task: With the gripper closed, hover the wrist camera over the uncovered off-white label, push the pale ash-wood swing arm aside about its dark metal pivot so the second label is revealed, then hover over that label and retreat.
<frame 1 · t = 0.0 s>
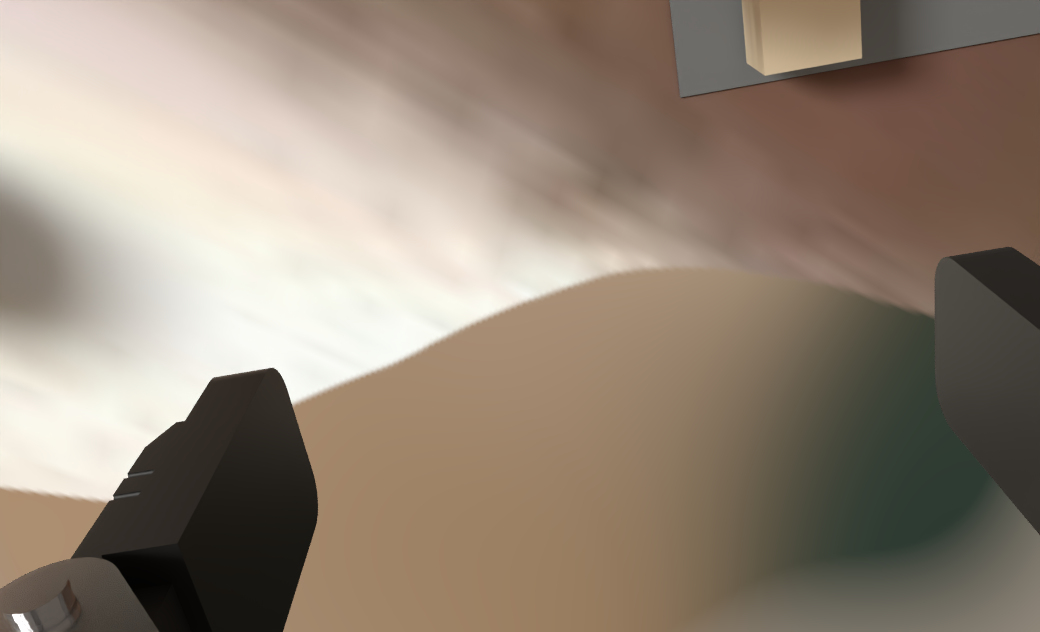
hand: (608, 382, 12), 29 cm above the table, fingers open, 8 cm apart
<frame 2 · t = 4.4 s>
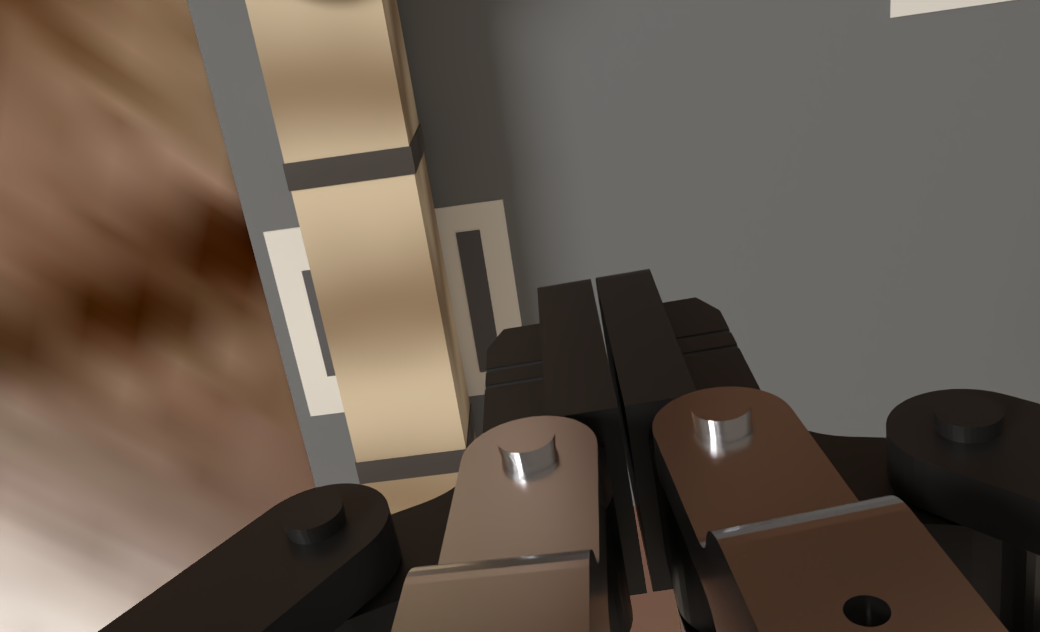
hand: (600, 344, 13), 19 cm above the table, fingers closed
label mat: (671, 190, 31), on the table
swing arm: (371, 236, 29), point 3 cm above the table, hinge at 0.0°
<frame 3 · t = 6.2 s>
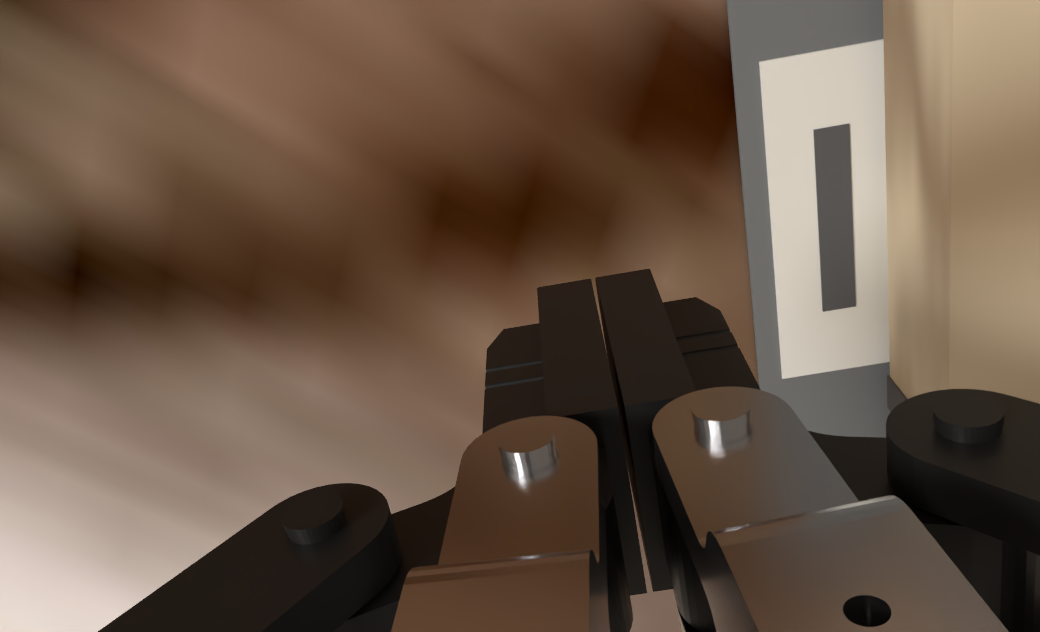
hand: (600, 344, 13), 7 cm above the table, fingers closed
swing arm: (1035, 37, 16), point 3 cm above the table, hinge at 0.0°
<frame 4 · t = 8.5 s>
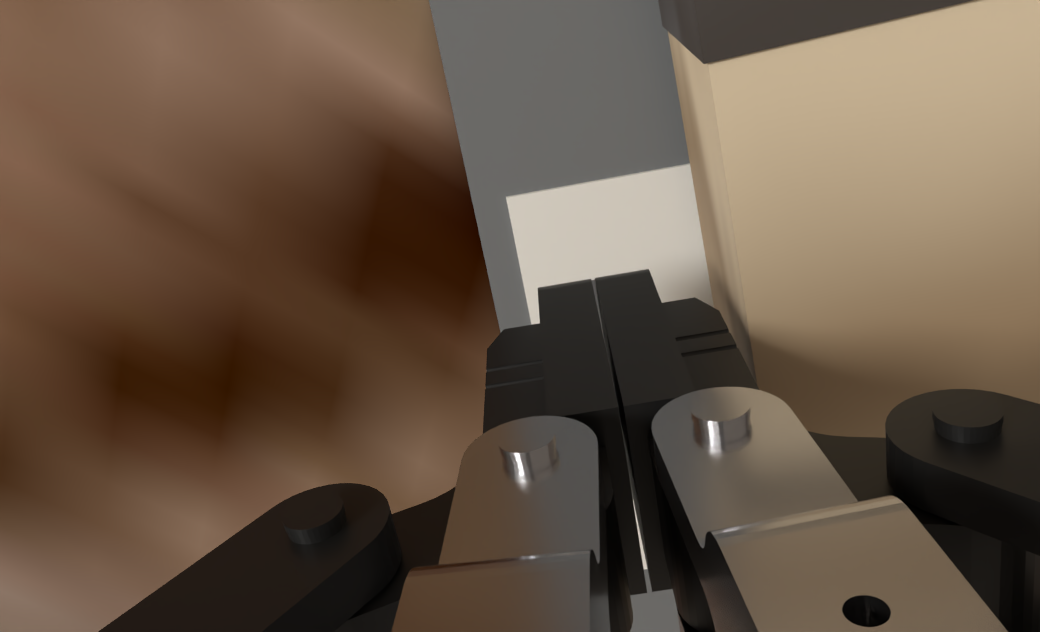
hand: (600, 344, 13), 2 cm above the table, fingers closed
swing arm: (869, 181, 11), point 3 cm above the table, hinge at 2.7°, touching gripper
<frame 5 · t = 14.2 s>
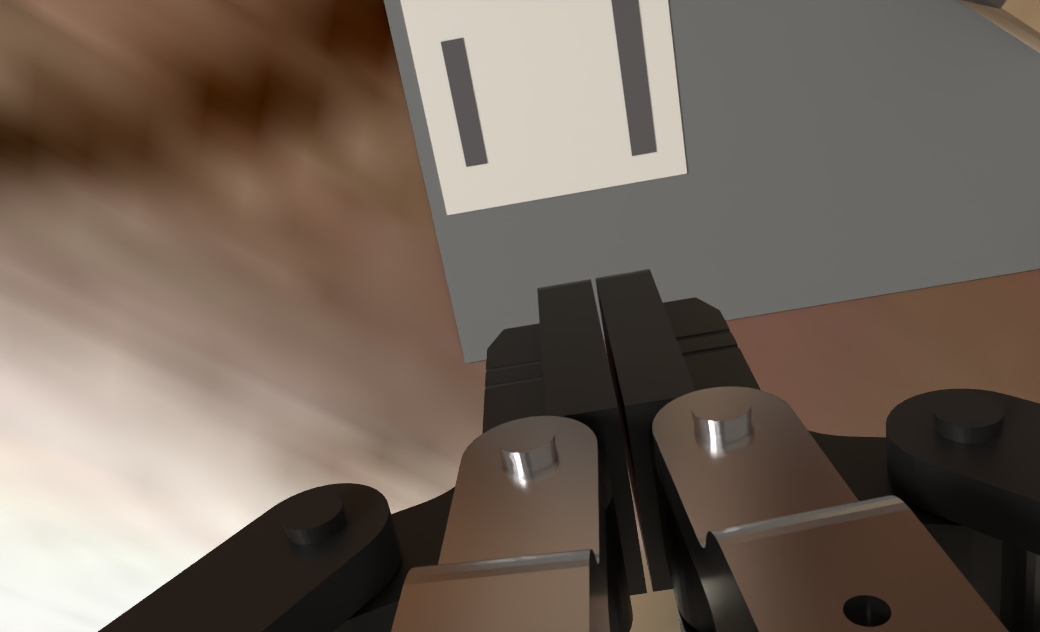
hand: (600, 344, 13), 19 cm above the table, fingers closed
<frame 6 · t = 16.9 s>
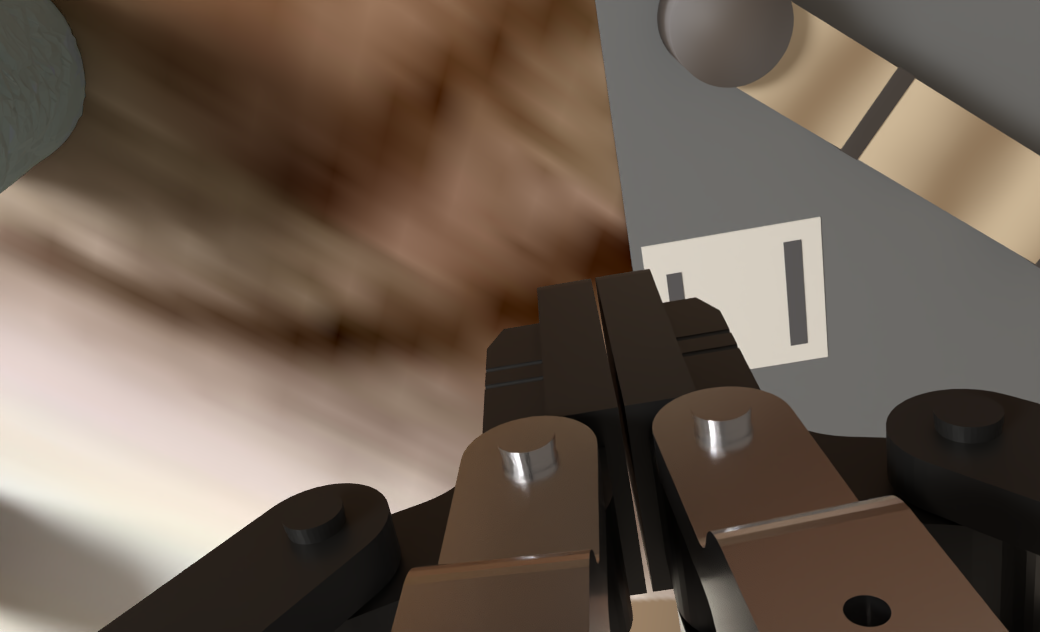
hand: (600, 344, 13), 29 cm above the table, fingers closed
label mat: (944, 205, 42), on the table
swing arm: (915, 137, 38), point 3 cm above the table, hinge at 50.9°
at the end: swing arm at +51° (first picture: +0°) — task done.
